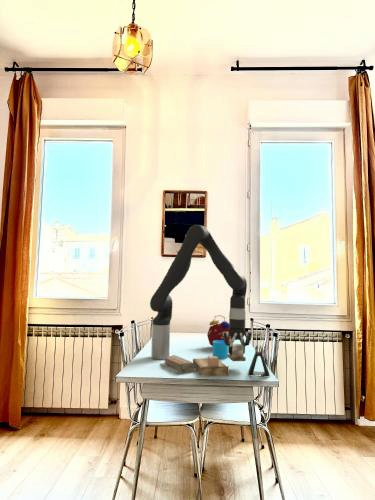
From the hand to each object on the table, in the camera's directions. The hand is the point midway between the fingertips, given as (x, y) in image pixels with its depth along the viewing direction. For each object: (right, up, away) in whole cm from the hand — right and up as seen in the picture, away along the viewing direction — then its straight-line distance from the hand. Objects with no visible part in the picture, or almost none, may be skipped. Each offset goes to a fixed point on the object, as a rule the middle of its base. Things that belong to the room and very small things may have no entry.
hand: (236, 354), depth 157 cm
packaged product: (-27, -7, 0) cm, 28 cm away
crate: (-12, -3, -8) cm, 15 cm away
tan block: (0, -2, 0) cm, 2 cm away
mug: (-5, -9, +26) cm, 28 cm away
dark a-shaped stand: (+9, -6, -8) cm, 14 cm away
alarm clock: (-4, -11, +46) cm, 47 cm away
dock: (-13, -6, -3) cm, 14 cm away
